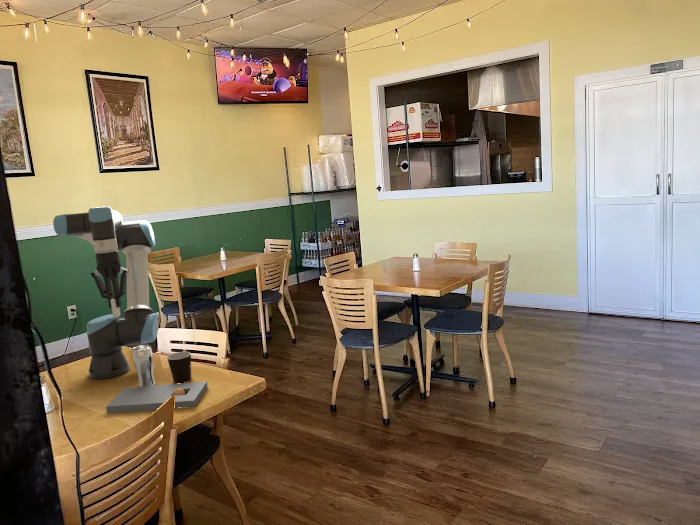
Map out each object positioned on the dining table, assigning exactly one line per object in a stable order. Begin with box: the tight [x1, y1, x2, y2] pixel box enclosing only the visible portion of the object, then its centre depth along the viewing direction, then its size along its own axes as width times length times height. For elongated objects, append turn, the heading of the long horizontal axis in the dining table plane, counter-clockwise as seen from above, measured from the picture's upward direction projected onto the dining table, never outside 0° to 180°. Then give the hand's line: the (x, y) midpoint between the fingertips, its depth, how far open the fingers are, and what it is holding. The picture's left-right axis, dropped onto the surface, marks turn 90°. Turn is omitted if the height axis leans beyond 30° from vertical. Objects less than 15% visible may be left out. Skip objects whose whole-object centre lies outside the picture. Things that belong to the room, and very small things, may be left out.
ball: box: [173, 388, 185, 396], centre depth 191 cm, size 4×4×4 cm
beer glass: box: [131, 344, 157, 387], centre depth 205 cm, size 7×7×15 cm
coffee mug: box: [166, 351, 192, 384], centre depth 209 cm, size 12×9×10 cm
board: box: [105, 381, 209, 414], centre depth 191 cm, size 30×16×2 cm, turn 89°
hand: (116, 316), depth 195 cm, fingers closed
